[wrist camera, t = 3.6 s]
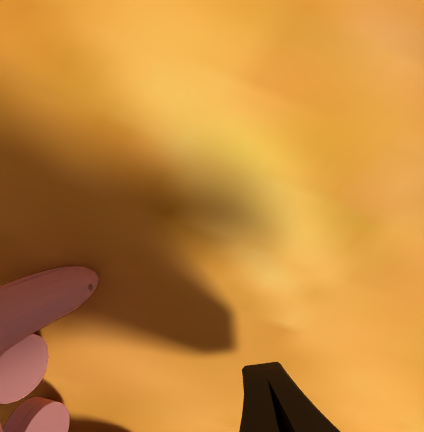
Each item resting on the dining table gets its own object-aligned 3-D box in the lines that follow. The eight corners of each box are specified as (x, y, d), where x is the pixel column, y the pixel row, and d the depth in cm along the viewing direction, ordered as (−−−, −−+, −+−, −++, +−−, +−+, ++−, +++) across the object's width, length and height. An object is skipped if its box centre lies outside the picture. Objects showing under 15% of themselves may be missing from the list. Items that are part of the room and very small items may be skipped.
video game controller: (16, 250, 14) (-239, 372, 8) (105, 254, 13) (-138, 414, 6) (76, 435, 17) (-80, 626, 11) (156, 460, 15) (21, 705, 9)
